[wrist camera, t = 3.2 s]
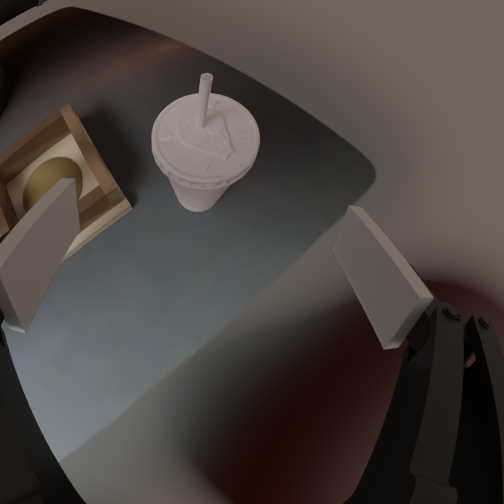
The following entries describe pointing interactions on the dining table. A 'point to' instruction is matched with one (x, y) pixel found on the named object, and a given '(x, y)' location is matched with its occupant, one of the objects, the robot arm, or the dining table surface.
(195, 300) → the dining table surface
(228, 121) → the smoothie
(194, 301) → the dining table surface
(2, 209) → the board
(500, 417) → the robot arm
